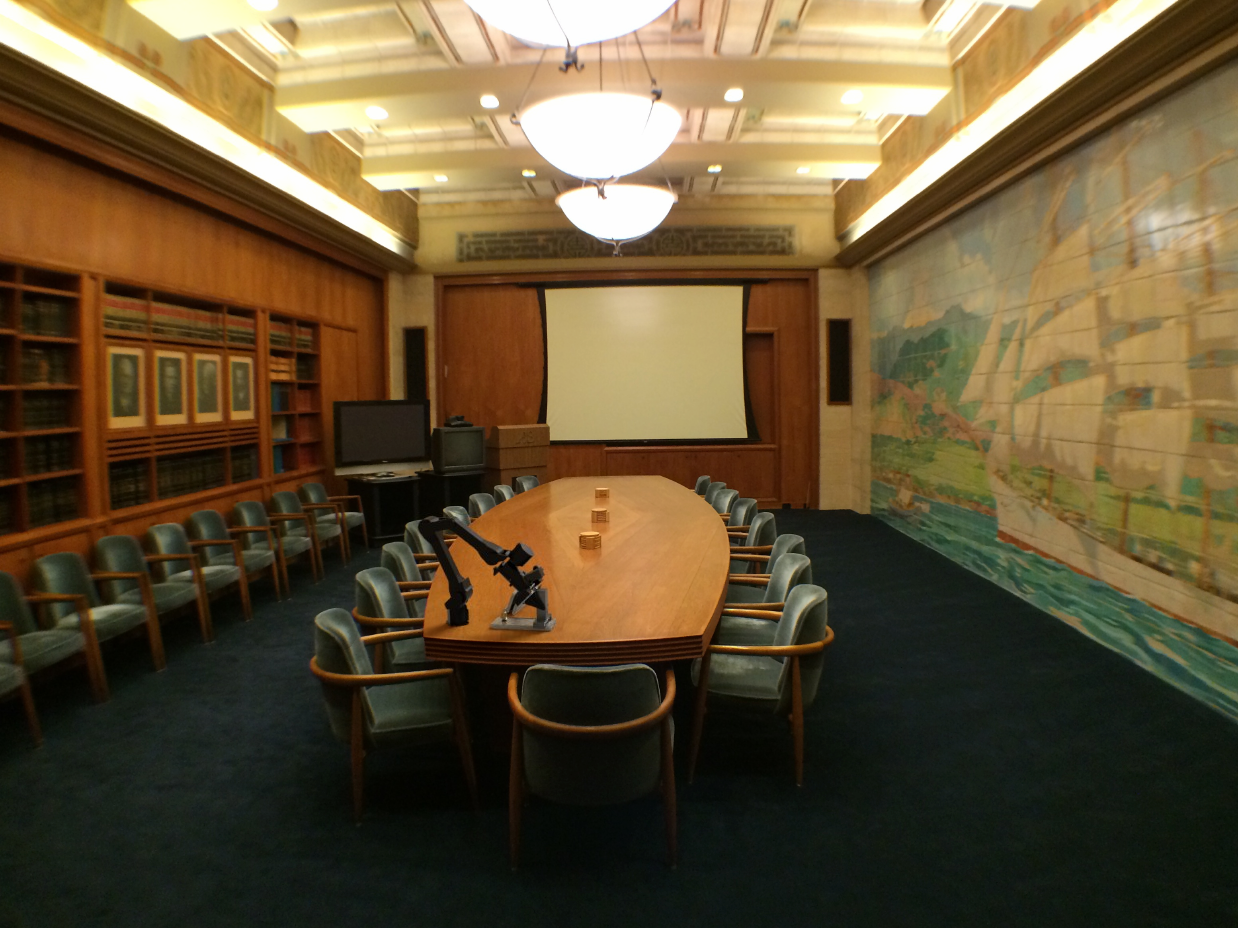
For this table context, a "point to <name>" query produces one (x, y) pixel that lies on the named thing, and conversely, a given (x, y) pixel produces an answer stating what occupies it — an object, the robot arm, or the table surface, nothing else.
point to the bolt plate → (519, 623)
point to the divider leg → (542, 615)
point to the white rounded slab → (513, 604)
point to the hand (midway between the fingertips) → (546, 607)
